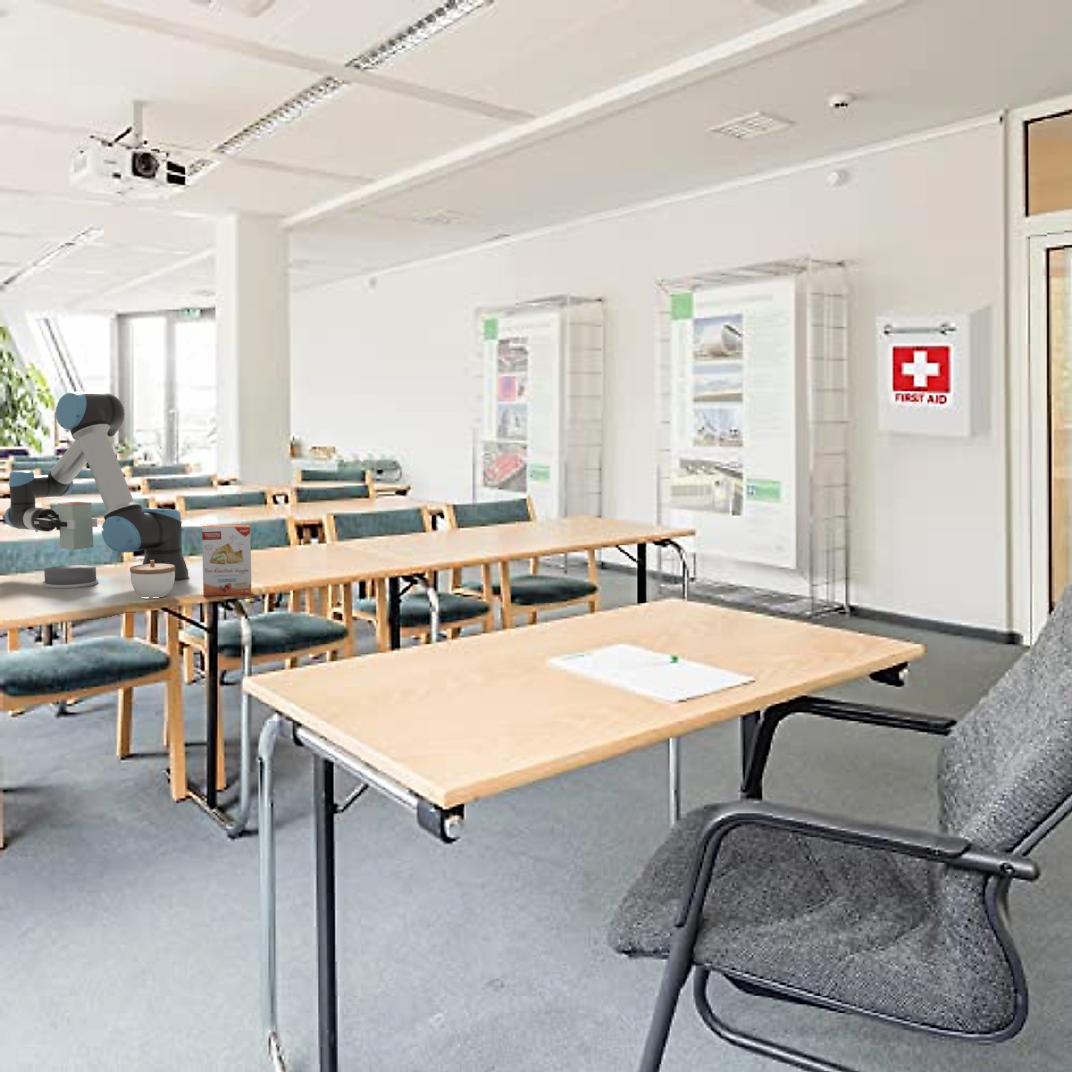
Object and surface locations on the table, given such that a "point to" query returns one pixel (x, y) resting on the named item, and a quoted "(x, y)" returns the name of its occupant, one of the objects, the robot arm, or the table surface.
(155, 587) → the lidded bowl
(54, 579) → the podium
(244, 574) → the cracker box
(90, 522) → the carton
